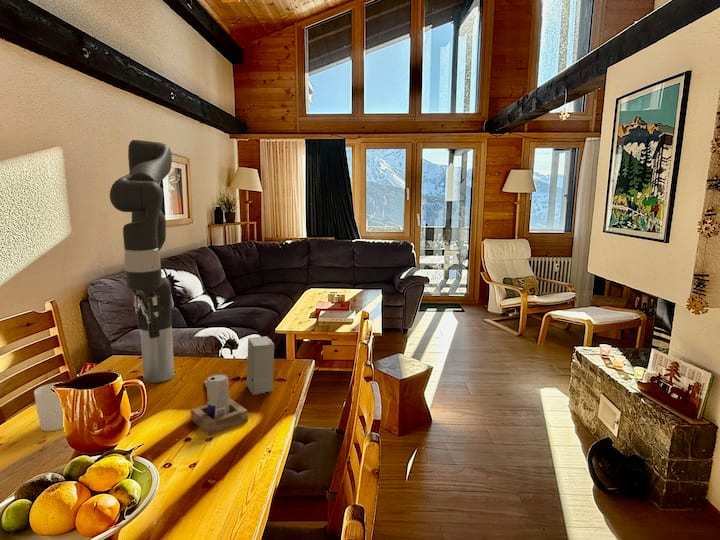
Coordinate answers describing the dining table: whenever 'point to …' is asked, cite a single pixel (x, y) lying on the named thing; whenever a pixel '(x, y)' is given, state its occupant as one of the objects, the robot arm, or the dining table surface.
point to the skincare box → (260, 365)
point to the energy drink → (217, 395)
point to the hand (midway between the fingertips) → (148, 332)
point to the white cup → (48, 408)
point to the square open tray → (219, 418)
